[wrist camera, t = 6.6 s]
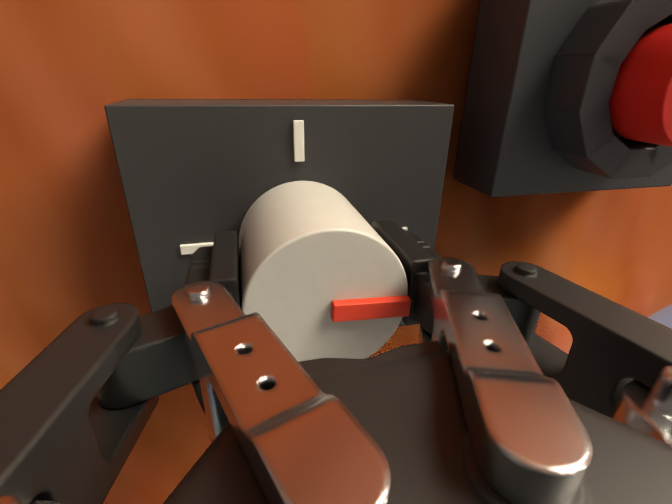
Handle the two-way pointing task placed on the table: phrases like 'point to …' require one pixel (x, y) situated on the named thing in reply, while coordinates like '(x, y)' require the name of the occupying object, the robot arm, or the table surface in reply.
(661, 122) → the power button
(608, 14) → the button housing
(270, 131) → the dial panel
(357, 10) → the table surface
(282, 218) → the dial
